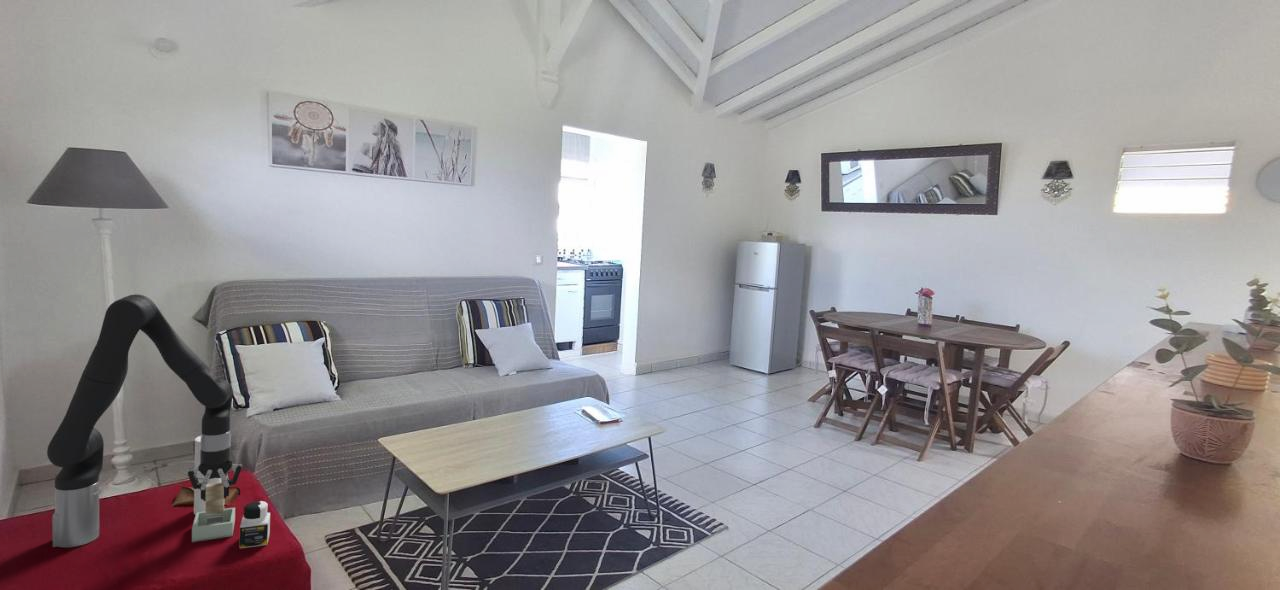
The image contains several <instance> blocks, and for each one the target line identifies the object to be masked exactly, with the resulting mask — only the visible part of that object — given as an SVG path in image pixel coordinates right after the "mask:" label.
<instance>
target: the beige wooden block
mask: <svg viewBox="0 0 1280 590" xmlns="http://www.w3.org/2000/svg"><path fill="white" fill-rule="evenodd" d="M224 509H225V506H224V484H223V482H222V481H221V483H212V484H207V486H206V515H213V514H220V513H224Z"/></svg>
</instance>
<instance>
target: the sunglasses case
mask: <svg viewBox="0 0 1280 590" xmlns="http://www.w3.org/2000/svg"><path fill="white" fill-rule="evenodd" d="M238 496H241V489H240V488H239V487H238V486H229V496H227V497H226V498H225V499H224V505H226V506H230V505H231V504H232V503H234V501H235V500H236V499H237V498H238ZM180 505H181V506H180ZM182 505H193V506H194V488H193V486H192V487H191V486H190V487H189V486H182V487H181V488H180V490H179V492H178V494H177V495H176V498H175V499H174V502H173V503H172V505H171V507H183V506H182Z"/></svg>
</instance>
